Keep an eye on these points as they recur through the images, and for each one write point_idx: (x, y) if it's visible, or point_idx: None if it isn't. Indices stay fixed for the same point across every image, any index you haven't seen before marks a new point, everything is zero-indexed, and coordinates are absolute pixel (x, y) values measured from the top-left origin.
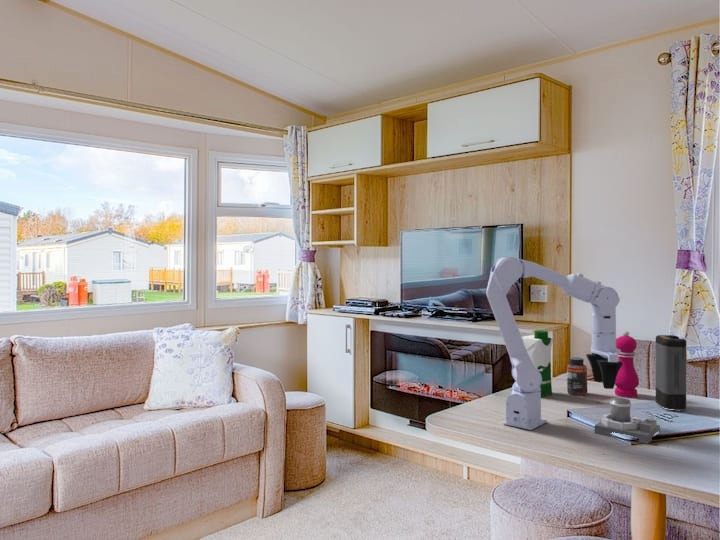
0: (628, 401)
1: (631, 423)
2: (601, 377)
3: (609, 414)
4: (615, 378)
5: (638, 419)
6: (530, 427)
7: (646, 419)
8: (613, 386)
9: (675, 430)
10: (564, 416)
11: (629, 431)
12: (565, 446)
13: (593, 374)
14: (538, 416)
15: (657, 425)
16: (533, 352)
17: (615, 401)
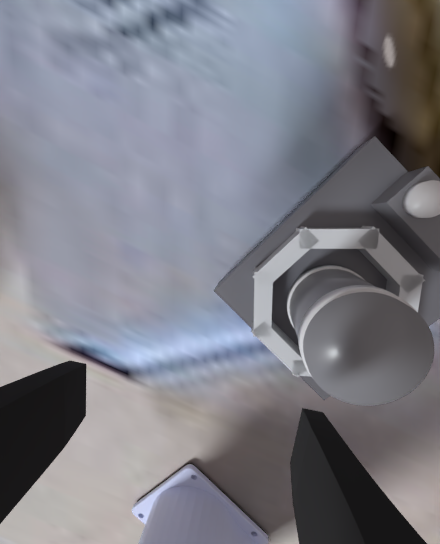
0: (415, 321)
1: (416, 300)
2: (60, 396)
3: (266, 324)
4: (392, 506)
5: (362, 236)
6: (260, 540)
7: (400, 211)
8: (334, 429)
9: (327, 49)
10: (130, 386)
11: (429, 316)
12: (425, 516)
13: (37, 475)
14: (221, 532)
15: (371, 148)
16: None
17: (395, 398)
